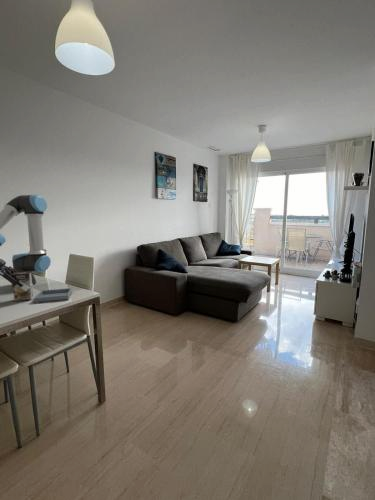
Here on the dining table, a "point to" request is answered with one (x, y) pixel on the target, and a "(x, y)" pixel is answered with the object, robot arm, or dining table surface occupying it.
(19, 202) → the robot arm
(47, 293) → the tray
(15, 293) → the coffee box
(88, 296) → the dining table surface
